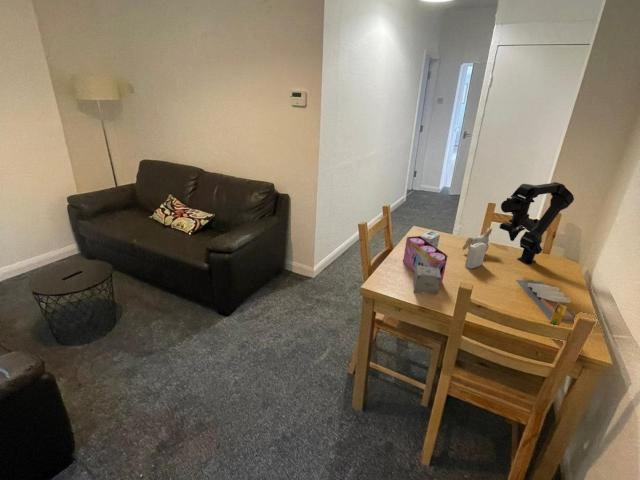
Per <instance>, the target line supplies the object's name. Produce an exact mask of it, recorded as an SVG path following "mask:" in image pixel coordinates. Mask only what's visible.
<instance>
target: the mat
mask: <svg viewBox="0 0 640 480" xmlns="http://www.w3.org/2000/svg"><path fill="white" fill-rule="evenodd" d="M515 281H516V282H517V284H519V286H520V287H521V288H522V289H523V291H524V292H525V293H526V294H527V295H528V296H529V298H530V299H531V300H532V302H534V304H535V305H536V306H537V307H538V308H539V310H540V311H541V312H542V313H543V314H544V315H545V316H546V318H547V320H549V321H551V318H552V316H553V315H552V314H551V313H550V311H549V310H548V309H547V308H546V307H545V306H544V305H543V304H542V302H541V301H540V300H541V298H540V297H537V293H536V292H532V288H531V287H528V283H534V284H544V285H546V284H545V283H544V282H543V281H538V280H537V281H536V280H526V279H515ZM560 303H561V304H562V305H563V306H566V305H565V303H564V302H560ZM566 310H567V311H568V312H569V313H570V314H571V315H572V316H573V319H572V320H565V319H562V320H561V322H571V323H575V322H574V318H575V316H576V315H575V314H574V313H573V312H572V310H570V309H569V308H568V307H567V308H566Z"/></svg>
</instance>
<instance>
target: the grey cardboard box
mask: <svg viewBox="0 0 640 480" xmlns="http://www.w3.org/2000/svg"><path fill="white" fill-rule="evenodd" d="M412 280H413V281H412V283H413V284H412V285H413V293H423V292H424V293H426V294H427V293H428V294H432V295H437V294H438V292H439V285H440V283H439V282H440V281H441V275H440V270H439V268H436V267H427V266H420V265H417V266H416V271H415V272H414V276H413V279H412ZM424 293H423V294H424Z"/></svg>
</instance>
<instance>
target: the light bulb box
mask: <svg viewBox="0 0 640 480" xmlns="http://www.w3.org/2000/svg"><path fill="white" fill-rule="evenodd" d="M419 236H420V237H422V238H423V239H425V240H426V241H427V242H429V243H430V244H432V245H433V246H434V247H436V248H437V249H438V246H439V241H440V237H441V234H440V233H437V232H435V231H431V230H428V231H426V232H424V233H422V234H419Z"/></svg>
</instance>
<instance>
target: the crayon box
mask: <svg viewBox="0 0 640 480" xmlns="http://www.w3.org/2000/svg"><path fill="white" fill-rule="evenodd" d="M559 301H560V300H559ZM558 303H559V302H558ZM566 308H568V307H567V306H566V305H565V306H563V305H560V304H557V307H556V309H555V311H554V314H553V316H552V318H551V320H549V323H548V325H549V324H553V325H558V326H559V327H560V325H561V322H562V321H561V320H562V318H563V316H564V314H565V311H566Z"/></svg>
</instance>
